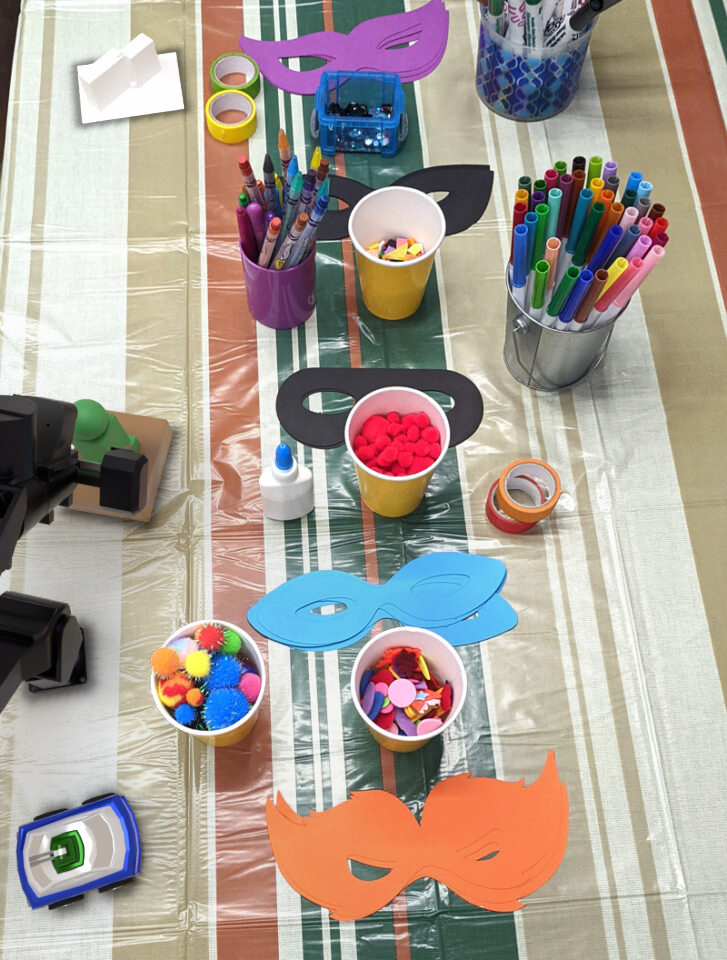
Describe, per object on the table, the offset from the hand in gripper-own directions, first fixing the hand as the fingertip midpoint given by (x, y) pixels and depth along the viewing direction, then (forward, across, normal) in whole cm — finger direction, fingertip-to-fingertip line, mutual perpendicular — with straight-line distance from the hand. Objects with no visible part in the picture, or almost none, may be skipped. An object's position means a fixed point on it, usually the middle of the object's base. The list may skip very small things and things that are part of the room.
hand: (90, 440), depth 97 cm
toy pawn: (+6, 0, +5) cm, 8 cm away
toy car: (-20, -10, +38) cm, 44 cm away
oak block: (+9, 0, +8) cm, 12 cm away
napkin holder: (+51, +17, -34) cm, 64 cm away
